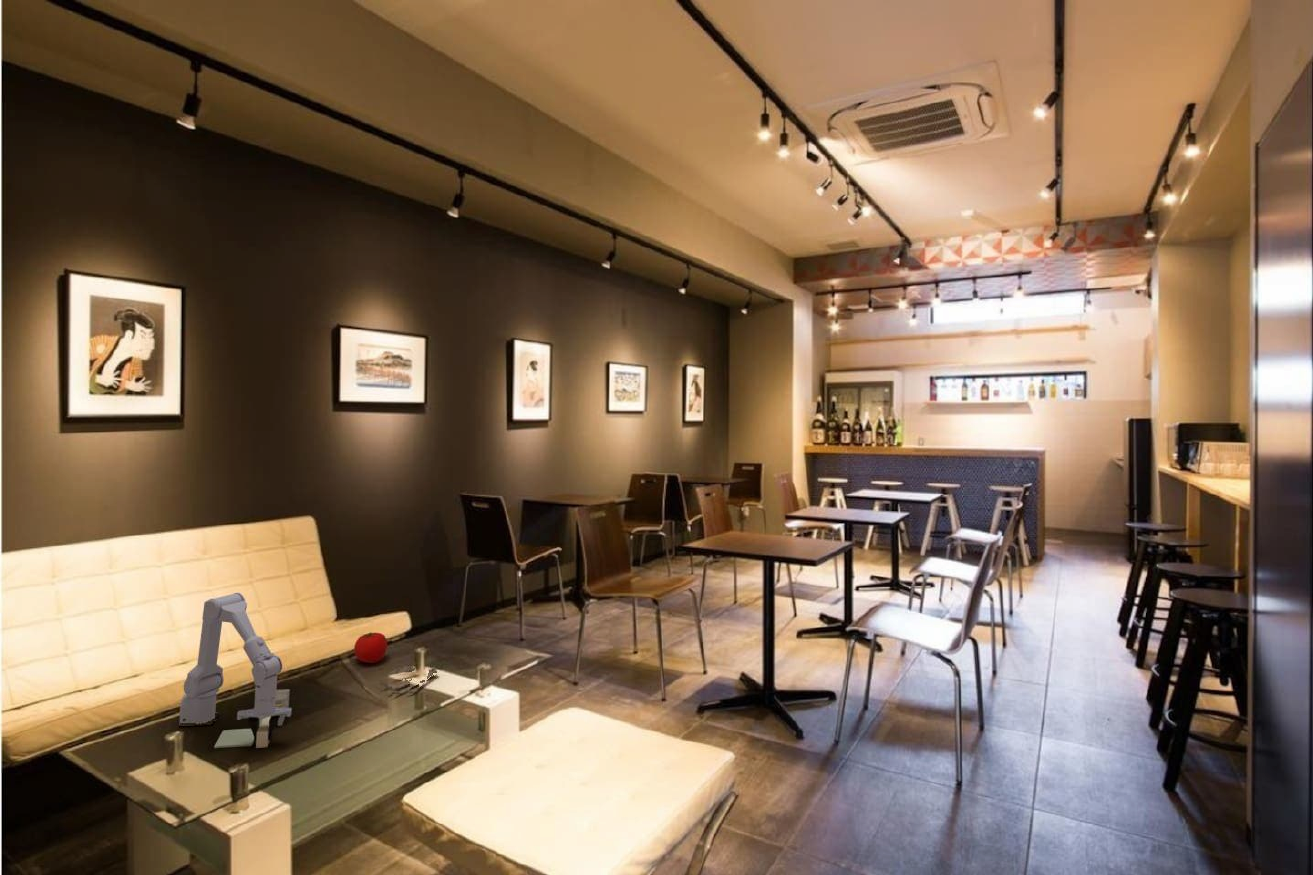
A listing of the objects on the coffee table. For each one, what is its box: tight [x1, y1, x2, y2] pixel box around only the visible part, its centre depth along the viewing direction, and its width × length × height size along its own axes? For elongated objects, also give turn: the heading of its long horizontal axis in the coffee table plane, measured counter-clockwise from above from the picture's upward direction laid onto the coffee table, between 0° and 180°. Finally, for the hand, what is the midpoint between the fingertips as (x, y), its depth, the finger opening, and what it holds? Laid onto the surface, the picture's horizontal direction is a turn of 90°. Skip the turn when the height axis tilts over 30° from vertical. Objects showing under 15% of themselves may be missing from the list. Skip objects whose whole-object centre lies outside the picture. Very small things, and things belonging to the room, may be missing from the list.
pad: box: [213, 728, 255, 749], centre depth 218 cm, size 10×10×1 cm
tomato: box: [353, 631, 388, 664], centre depth 285 cm, size 12×14×12 cm
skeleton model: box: [378, 666, 438, 695], centre depth 266 cm, size 24×13×5 cm, turn 169°
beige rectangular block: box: [255, 717, 271, 749], centre depth 219 cm, size 3×10×5 cm, turn 19°
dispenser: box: [259, 688, 291, 727], centre depth 233 cm, size 7×12×7 cm, turn 19°
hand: (263, 739), depth 217 cm, fingers closed on beige rectangular block, 3 cm apart
